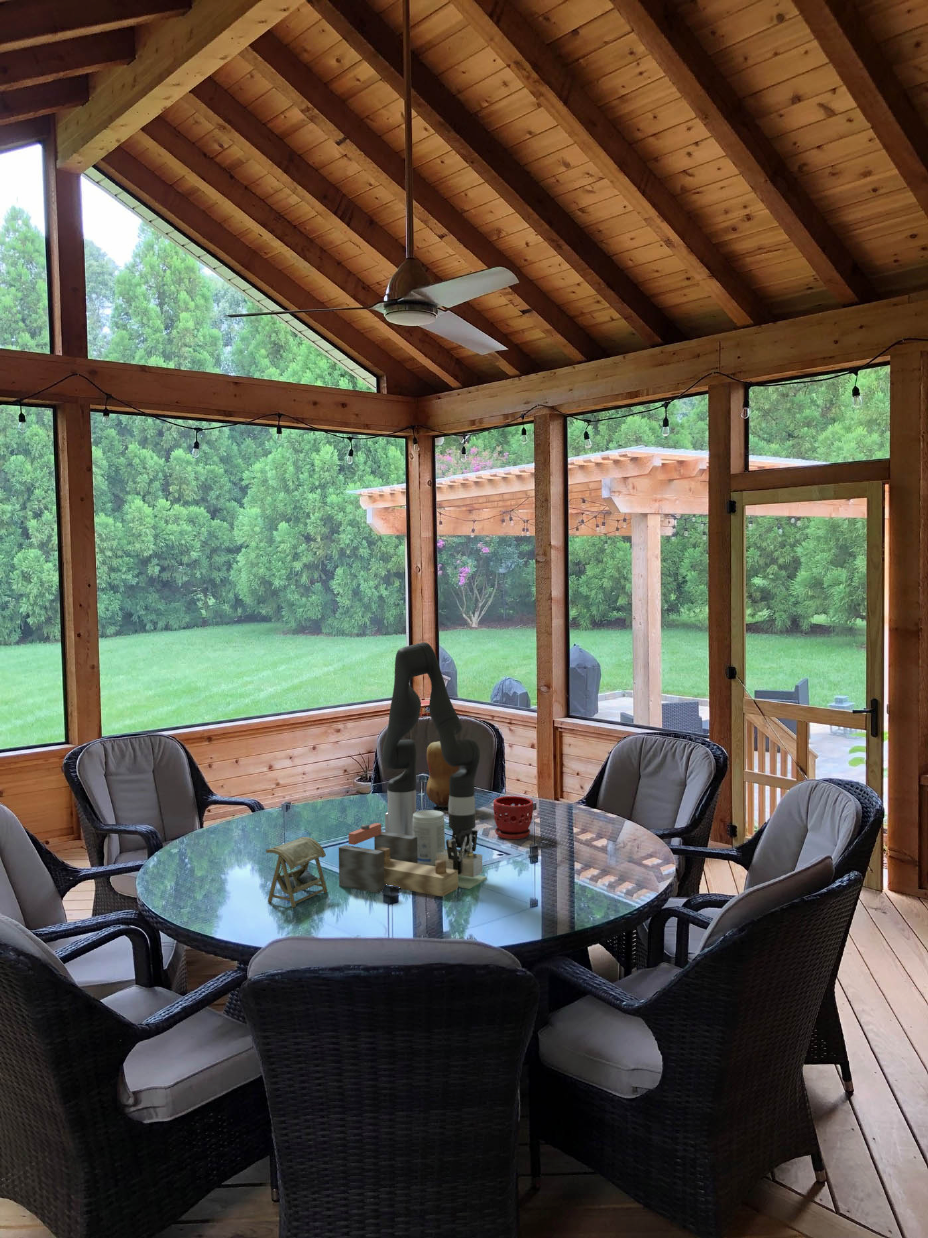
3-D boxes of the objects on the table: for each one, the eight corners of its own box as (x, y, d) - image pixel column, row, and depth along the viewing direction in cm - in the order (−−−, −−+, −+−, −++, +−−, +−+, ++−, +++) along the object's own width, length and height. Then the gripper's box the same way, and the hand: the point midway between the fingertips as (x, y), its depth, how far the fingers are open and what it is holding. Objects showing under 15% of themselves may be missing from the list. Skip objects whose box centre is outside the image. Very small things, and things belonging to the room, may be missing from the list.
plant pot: (487, 839, 312) (487, 803, 312) (501, 829, 325) (501, 794, 324) (525, 843, 308) (525, 806, 307) (538, 833, 320) (538, 797, 319)
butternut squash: (425, 803, 363) (424, 737, 362) (460, 802, 365) (460, 737, 364) (428, 812, 350) (427, 744, 349) (464, 811, 351) (464, 743, 350)
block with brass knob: (436, 871, 270) (436, 850, 270) (445, 866, 275) (445, 846, 274) (473, 877, 264) (473, 856, 264) (482, 872, 269) (482, 852, 268)
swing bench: (294, 908, 248) (293, 852, 247) (265, 903, 252) (264, 847, 252) (328, 892, 261) (327, 838, 260) (300, 887, 265) (299, 834, 265)
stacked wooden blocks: (339, 885, 266) (338, 847, 265) (380, 867, 283) (380, 831, 283) (430, 903, 251) (430, 862, 250) (468, 882, 268) (468, 844, 268)
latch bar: (348, 843, 268) (348, 830, 268) (375, 833, 279) (374, 820, 279) (355, 845, 267) (354, 831, 267) (381, 834, 278) (381, 821, 278)
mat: (438, 883, 267) (438, 881, 267) (456, 873, 276) (456, 871, 276) (469, 888, 262) (469, 886, 262) (486, 878, 271) (486, 876, 271)
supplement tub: (437, 856, 294) (436, 808, 293) (450, 864, 286) (450, 815, 285) (408, 860, 290) (407, 812, 289) (420, 868, 281) (420, 819, 281)
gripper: (460, 818, 260) (461, 880, 261) (485, 807, 273) (486, 866, 273) (437, 815, 264) (437, 876, 265) (463, 804, 276) (463, 862, 277)
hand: (462, 870), depth 269 cm, fingers closed on block with brass knob, 5 cm apart
